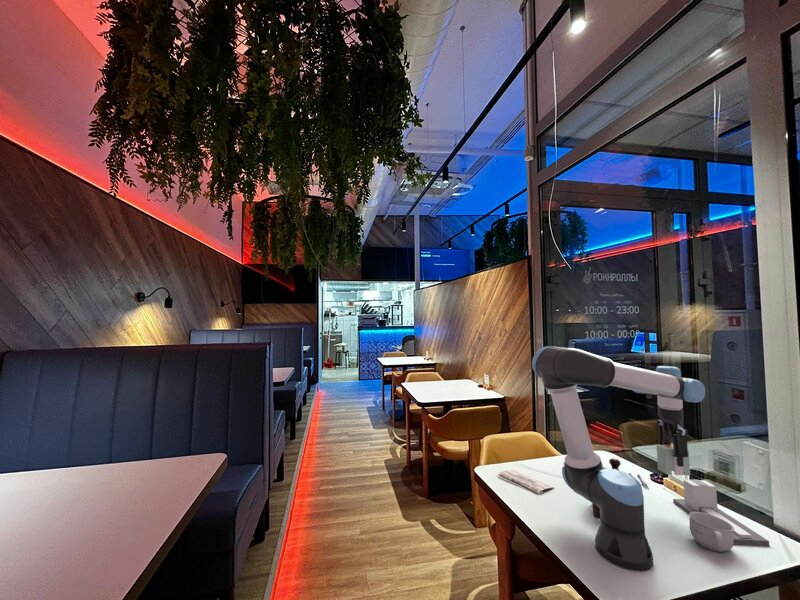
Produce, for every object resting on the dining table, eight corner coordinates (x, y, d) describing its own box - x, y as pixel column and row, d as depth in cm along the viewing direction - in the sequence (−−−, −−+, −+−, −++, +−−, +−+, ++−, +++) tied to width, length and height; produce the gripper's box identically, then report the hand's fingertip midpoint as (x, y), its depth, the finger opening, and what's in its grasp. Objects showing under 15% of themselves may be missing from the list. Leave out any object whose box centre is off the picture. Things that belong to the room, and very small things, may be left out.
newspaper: (495, 478, 161) (496, 472, 161) (513, 474, 167) (513, 469, 168) (538, 498, 142) (538, 491, 142) (556, 493, 148) (556, 487, 149)
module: (666, 474, 126) (665, 448, 127) (657, 468, 131) (656, 444, 132) (690, 475, 125) (688, 449, 126) (680, 469, 130) (678, 444, 131)
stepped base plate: (728, 543, 112) (726, 509, 112) (673, 502, 137) (671, 475, 138) (769, 545, 110) (766, 511, 111) (705, 504, 136) (704, 476, 137)
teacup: (690, 531, 118) (688, 507, 119) (733, 544, 111) (732, 518, 112) (690, 552, 107) (689, 525, 108) (739, 567, 100) (737, 539, 101)
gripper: (699, 414, 121) (703, 482, 119) (665, 402, 139) (668, 462, 137) (676, 413, 121) (679, 481, 120) (645, 402, 139) (648, 461, 138)
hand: (673, 471), depth 128 cm, fingers closed on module, 5 cm apart
